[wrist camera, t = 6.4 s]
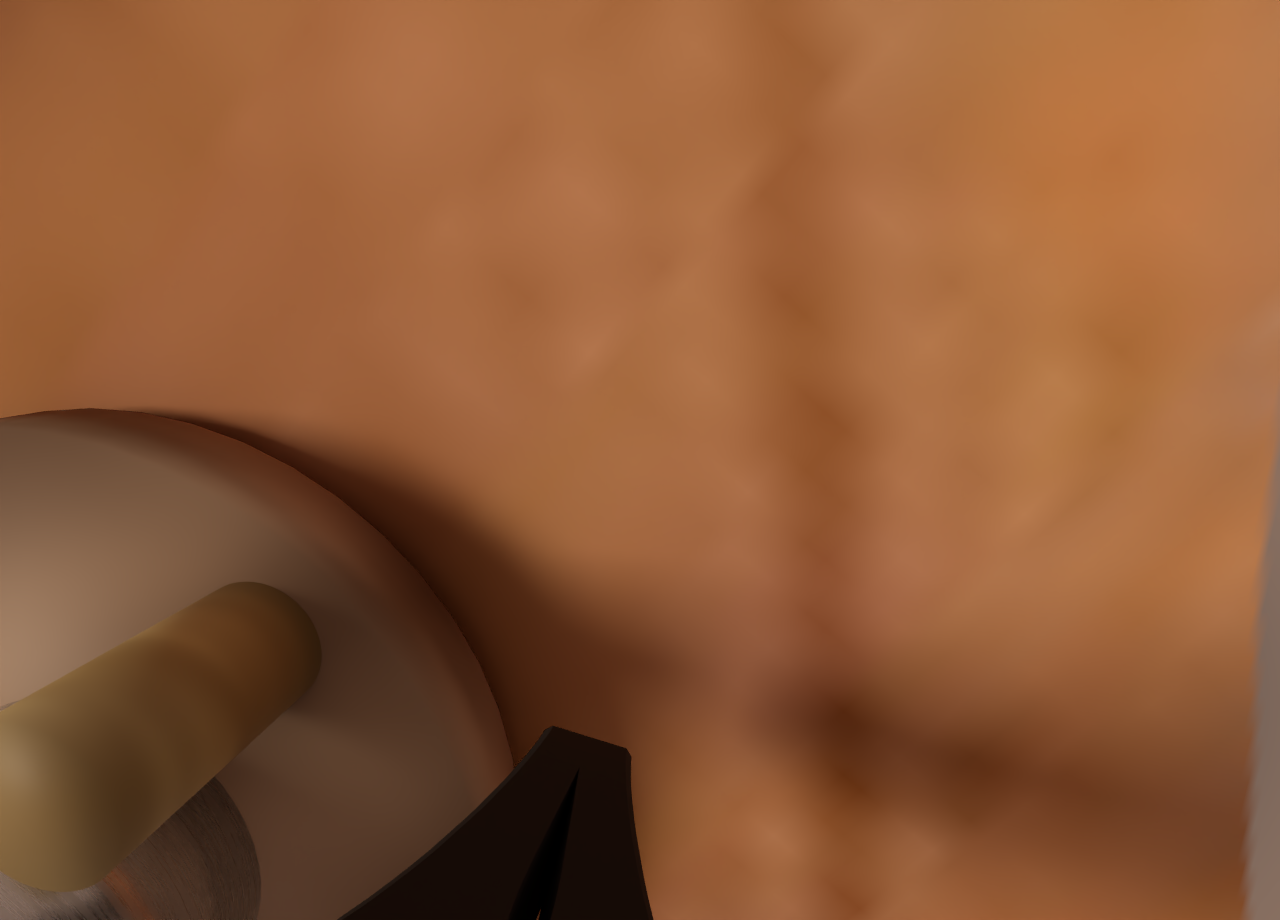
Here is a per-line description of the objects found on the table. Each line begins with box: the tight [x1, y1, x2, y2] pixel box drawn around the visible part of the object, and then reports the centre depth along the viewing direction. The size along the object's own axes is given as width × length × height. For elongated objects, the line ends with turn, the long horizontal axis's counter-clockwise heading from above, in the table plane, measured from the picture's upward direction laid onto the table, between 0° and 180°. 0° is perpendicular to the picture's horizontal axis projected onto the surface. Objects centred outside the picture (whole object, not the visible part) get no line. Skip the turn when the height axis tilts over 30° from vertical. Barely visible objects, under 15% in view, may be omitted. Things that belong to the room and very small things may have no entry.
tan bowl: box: [0, 408, 514, 920], centre depth 12 cm, size 17×17×6 cm
